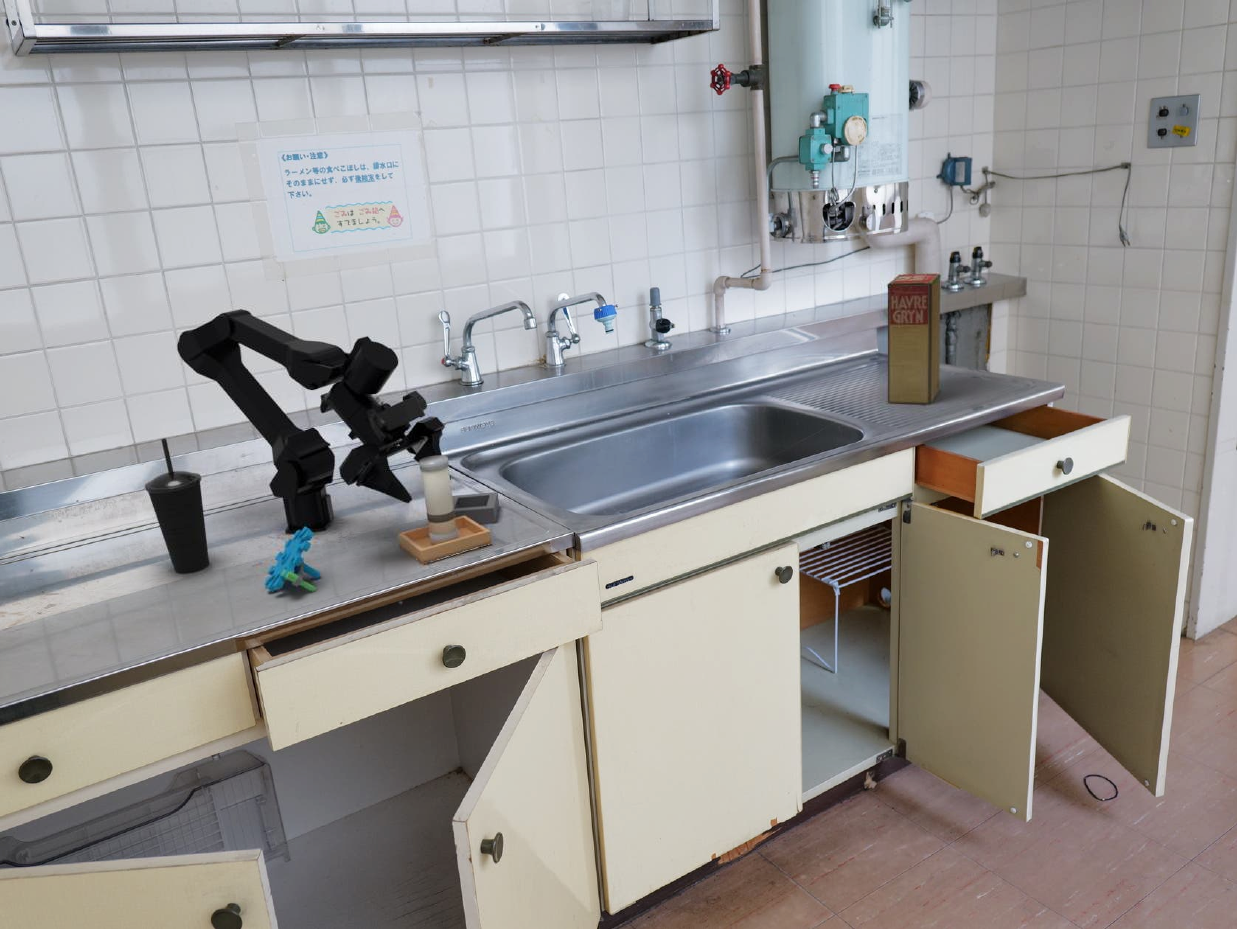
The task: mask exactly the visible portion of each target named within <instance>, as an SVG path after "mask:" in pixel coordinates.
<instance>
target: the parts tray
mask: <svg viewBox="0 0 1237 929" xmlns="http://www.w3.org/2000/svg"><path fill="white" fill-rule="evenodd" d="M455 520H456V527H457V529H458V537H459V538H458V539H455V540H451V541H448V542H444V543H441V544H437V545H434V546H431V542H430V535H429V524H427V525H425V526H422V527H417V528H414V529H410V530H407V531H403V532H400V533H397V537H398V544H399V545H398V546H399V548H400V549H401V550H403V551H404V552H405V553H407V554H408V555H409V556H410V557H412V558H413V559H414V560H415V559H417V560H416V561H417V562H418V561H419V562H420V563H419V562H418V563H419V564H421V565H422V564H425V565H427V564H426V563H428V564H430V563H429V562H431V561H435V560H437V559H441V558H444V557H446V556H451V555H453V554H456V553H461V552H463V551H466V550H470V549H473V548H476V547H481V546H484V545H488V544H490V543H491V544H492V537H491V531H490V530H489V529H487V528H486V527H484V526H482V524H478V523H476V522H475V521H473V520H471V519H470V518H468V517H467V516H465V515H464V516H461V517H457V518H455ZM435 562H436V561H435ZM431 563H432V562H431Z"/></svg>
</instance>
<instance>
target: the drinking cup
mask: <svg viewBox="0 0 1237 929" xmlns="http://www.w3.org/2000/svg"><path fill="white" fill-rule="evenodd" d="M160 441H161V445H162V450H163V454H164V458H165V459H164V460H165V462H166V468H167V472H165V473H162V474H160V475H157V476H156V477H155V478H153V479H151V480H150V481H148V482H146V483H145V484H144V490H145V491H146V492H147V493H148V495H149V496H148V497H149V499H150V502H151V505H152V508H153V511H154V514H155V516H156V519H157V522H158V525H159V527H160V528H159V529H160V531H161V534H162V536H163V539H164V542H165V546H166V548H167V552H168V555H169V557H170V560H171V564H172V566H173V568H174V569H173V570H174V571H175V572H176V573H177V574H191V573H195V572H199V571H201V570H203V569H205V568H207V567H208V566H209V564H210V558H209V551H208V550H209V549H208V541H207V532H206V523H205V514H204V505H203V496H202V488H201V487H202V486H201V481H202V475H201V474H199V473H196V472H190V471H186V470H185V471H184V470H174V468H173V463H172V459H171V455H170V450H169V445H168V440H167V438H161V439H160Z"/></svg>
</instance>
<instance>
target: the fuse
mask: <svg viewBox="0 0 1237 929" xmlns="http://www.w3.org/2000/svg"><path fill="white" fill-rule="evenodd" d="M418 464H419V470H420V473H421V480H422V488H423V495H424V502H425V507H426V510H425V511H426V518H427V522H428V524H427V525H429V535H430V542H431V546H434V545H437V544H441V543H444V542H448V541H451V540H455V539H458V538H459V537H458V529H457V527H456V520H455V510H454V505H453V497H452V496H453V492H452V485H451V480H450V476H451V475H449V474H450V468H449V465H450V464H449V457H448V456H446V455H442V456H441V455H437V456H429V457H425V458H423V459H421V460H419V463H418Z"/></svg>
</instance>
